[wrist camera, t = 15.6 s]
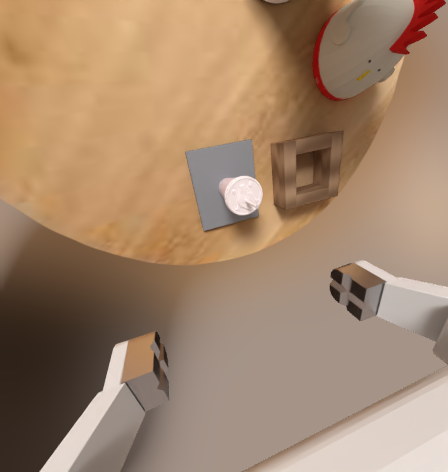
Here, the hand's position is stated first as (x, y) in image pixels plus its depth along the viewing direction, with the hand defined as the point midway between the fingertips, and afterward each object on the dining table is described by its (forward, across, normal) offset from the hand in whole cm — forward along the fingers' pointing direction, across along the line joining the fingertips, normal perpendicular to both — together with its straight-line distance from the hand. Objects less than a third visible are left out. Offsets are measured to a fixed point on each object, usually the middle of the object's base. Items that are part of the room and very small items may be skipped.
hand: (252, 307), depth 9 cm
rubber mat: (+34, -8, +2) cm, 35 cm away
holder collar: (+34, -26, +2) cm, 43 cm away
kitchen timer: (+34, -36, -17) cm, 53 cm away
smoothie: (+33, -9, +2) cm, 34 cm away
